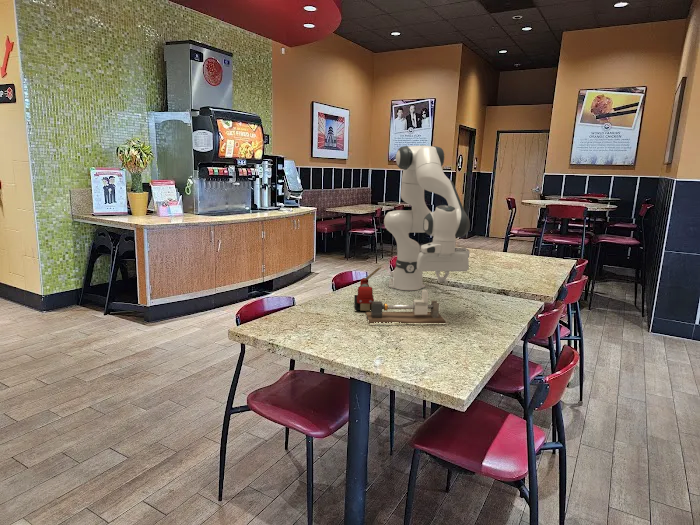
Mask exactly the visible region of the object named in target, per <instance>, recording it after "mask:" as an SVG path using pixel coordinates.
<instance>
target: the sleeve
mask: <svg viewBox="0 0 700 525" xmlns="http://www.w3.org/2000/svg"><path fill="white" fill-rule="evenodd" d="M412 305H415V309H412V312H414V314H415V315H427V312H429V311H428V310H429V309H428V305H429V292H428V290H427V289H421V298H420V299H419V298H418V299H416V298H415V299H413V301H412Z"/></svg>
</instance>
